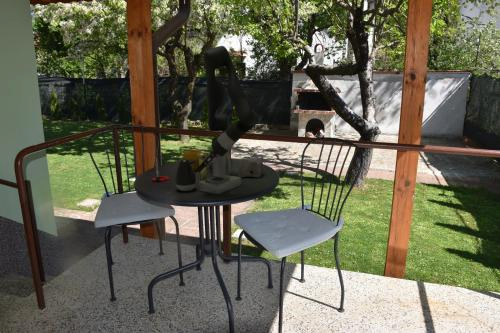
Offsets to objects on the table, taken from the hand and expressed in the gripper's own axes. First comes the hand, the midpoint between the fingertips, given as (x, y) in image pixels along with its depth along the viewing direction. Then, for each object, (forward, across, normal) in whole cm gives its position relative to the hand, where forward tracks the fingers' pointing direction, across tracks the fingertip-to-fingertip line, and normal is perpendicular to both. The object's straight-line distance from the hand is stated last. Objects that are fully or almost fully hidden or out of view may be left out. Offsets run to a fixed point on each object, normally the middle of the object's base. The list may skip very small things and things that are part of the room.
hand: (198, 169), depth 188 cm
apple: (+18, -47, 0) cm, 50 cm away
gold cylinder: (+2, 0, +5) cm, 5 cm away
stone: (-6, -33, +23) cm, 41 cm away
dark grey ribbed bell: (+14, -6, +3) cm, 16 cm away
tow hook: (+28, -24, -10) cm, 38 cm away
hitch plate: (+3, -10, +14) cm, 17 cm away
